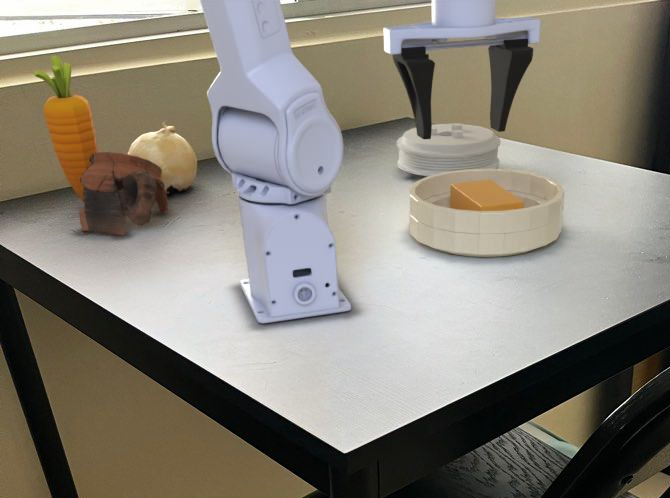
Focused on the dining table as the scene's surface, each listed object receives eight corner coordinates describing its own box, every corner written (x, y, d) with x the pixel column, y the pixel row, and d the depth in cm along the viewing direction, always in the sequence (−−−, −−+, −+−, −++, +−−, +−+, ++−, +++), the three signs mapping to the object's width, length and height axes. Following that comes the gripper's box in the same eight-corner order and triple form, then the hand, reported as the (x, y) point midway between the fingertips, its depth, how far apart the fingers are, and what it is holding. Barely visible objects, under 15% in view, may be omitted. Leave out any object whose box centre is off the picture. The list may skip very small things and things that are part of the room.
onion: (192, 199, 101) (182, 133, 96) (124, 200, 101) (111, 134, 96) (206, 180, 107) (197, 117, 103) (142, 181, 107) (130, 118, 103)
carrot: (99, 213, 97) (64, 61, 88) (59, 211, 98) (20, 61, 89) (119, 200, 101) (88, 53, 92) (80, 198, 102) (45, 53, 93)
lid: (468, 190, 101) (469, 144, 98) (377, 177, 107) (376, 133, 104) (516, 165, 110) (518, 122, 107) (429, 153, 115) (429, 112, 112)
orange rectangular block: (521, 239, 86) (524, 201, 84) (480, 244, 85) (481, 206, 82) (488, 214, 92) (490, 179, 90) (449, 219, 91) (450, 183, 89)
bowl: (586, 249, 85) (591, 201, 82) (440, 269, 81) (440, 220, 78) (521, 205, 96) (524, 162, 94) (391, 221, 93) (390, 177, 90)
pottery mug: (60, 232, 93) (65, 152, 92) (140, 252, 100) (146, 178, 99) (113, 225, 85) (120, 137, 84) (197, 247, 92) (204, 166, 91)
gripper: (521, -42, 80) (513, 117, 89) (371, -35, 77) (377, 131, 85) (555, -37, 75) (543, 132, 83) (396, -29, 72) (399, 147, 80)
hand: (461, 133), depth 84 cm, fingers open, 7 cm apart
